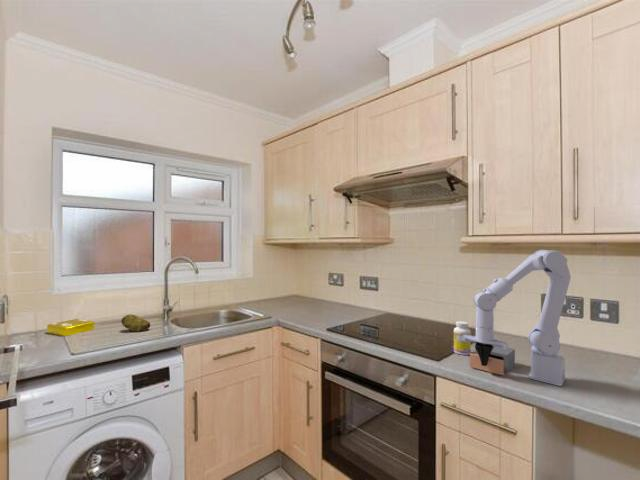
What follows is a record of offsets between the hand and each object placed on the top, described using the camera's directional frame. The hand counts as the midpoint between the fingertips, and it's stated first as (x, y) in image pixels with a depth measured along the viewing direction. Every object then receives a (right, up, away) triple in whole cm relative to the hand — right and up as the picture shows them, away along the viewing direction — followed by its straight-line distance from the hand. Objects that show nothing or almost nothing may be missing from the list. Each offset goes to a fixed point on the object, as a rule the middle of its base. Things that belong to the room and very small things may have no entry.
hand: (484, 365), depth 117 cm
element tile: (-184, -2, +49) cm, 190 cm away
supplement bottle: (+2, -3, +22) cm, 22 cm away
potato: (-152, -2, +51) cm, 161 cm away
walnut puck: (+5, -2, +5) cm, 7 cm away
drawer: (+5, -3, +5) cm, 7 cm away
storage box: (+8, -3, +9) cm, 13 cm away
